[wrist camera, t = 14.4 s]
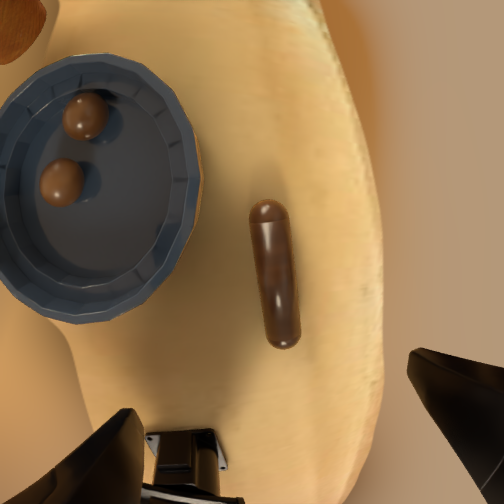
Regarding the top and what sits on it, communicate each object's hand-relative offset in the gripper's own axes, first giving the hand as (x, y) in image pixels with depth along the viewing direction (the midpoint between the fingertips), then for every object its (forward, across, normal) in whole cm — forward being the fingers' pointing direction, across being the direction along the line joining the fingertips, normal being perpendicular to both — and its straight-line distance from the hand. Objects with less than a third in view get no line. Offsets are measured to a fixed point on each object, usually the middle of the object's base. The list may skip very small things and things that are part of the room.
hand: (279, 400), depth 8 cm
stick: (+12, -3, 0) cm, 12 cm away
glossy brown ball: (+9, +10, -10) cm, 17 cm away
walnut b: (+9, +9, -13) cm, 18 cm away
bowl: (+12, +9, -8) cm, 17 cm away
